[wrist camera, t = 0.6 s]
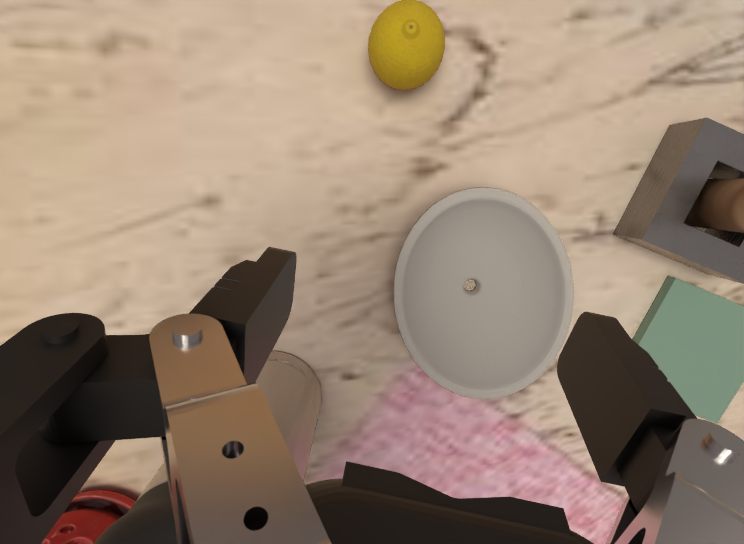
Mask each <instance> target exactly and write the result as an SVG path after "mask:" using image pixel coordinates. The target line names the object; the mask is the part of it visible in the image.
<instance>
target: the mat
mask: <svg viewBox="0 0 744 544" xmlns="http://www.w3.org/2000/svg"><path fill="white" fill-rule="evenodd" d="M633 341H634V342H636V343H637V344H638V345H639V346H641V347H642V348H643V349H644V350H645V351H647V352H648V353H649V354H650V356H651V357H652V359H653V360H654V361H655V363H656V364H657V365H658V367H659V370H661V371H662V372H663V373H664V375H665V376H666V377H667V381H668V382H670V383H671V384H672V385H673V387H674V388H675V389H676V391H677V392H678V393H679V395H680V396H681V397H682V399H683V400H684V401H685V403H686V404H687V405H688V407H689V408H690V409H691V411H692V412H693V413H694V415H697V416H700V417H702V418H705V419H707V420H710V421H712V422H715V423H718V421H719V420H720V418H721V417H722V415H723V413H724V412H725V410H726V409H727V407H728V405H729V404H730V402H731V401H732V399H733V397H734V396H735V394H736V393H737V391H738V389H739V388H740V386H741V385H742V383H743V382H744V306H742V305H739V304H737V303H734V302H732V301H730V300H727V299H725V298H722V297H720V296H718V295H715V294H713V293H710V292H708V291H706V290H703V289H701V288H698V287H696V286H694V285H691V284H689V283H686V282H684V281H682V280H679V279H677V278H674V277H670V276H668V277H667V279H666V280H665V282H664V284H663V286H662V288H661V289H660V291H659V293H658V295H657V296H656V298H655V300H654V302H653V304H652V305H651V307H650V309H649V311H648V313H647V314H646V316H645V318H644V320H643V322H642V323H641V325H640V327H639V329H638V331H637V332H636V334H635V336H634V338H633Z"/></svg>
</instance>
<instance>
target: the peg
mask: <svg viewBox="0 0 744 544" xmlns="http://www.w3.org/2000/svg"><path fill="white" fill-rule="evenodd" d="M684 224H686V225H688V226H694V227H702V228H710V229H718V230H725V231H733V232H741V233H744V179H707V181H706V183H705V184H704V186H703V188H702V190H701V192H700V193H699V195H698V197H697V199H696V201H695V203H694V204H693V206H692V208H691V210H690V212H689V213H688V215H687V217H686V219H685V221H684Z"/></svg>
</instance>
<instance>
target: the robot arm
mask: <svg viewBox="0 0 744 544" xmlns="http://www.w3.org/2000/svg"><path fill="white" fill-rule="evenodd" d="M295 270H296V253H295V252H291V251H287V250H282V249H277V248H272V247H268V248H267V249H266V251H265V252H264V253H263V254H262V255H261V257H260V258H259V259H258V260H257V262H254V261H249V260H245V261H243V262H241V263H239V264H237V265H235V266H232V267H231V268H230V269H229V270H228V271H227V272H226V273H225V274H224V275H223V277H222V279H220V280H219V281H218V282H217V283H216V284H215V286H214V288H212V289H211V290H210V291H209V292H208V293H207V294H206V295H205V296H204V297H203V298H202V300H201V301H200V302H199V303H198V304H197V305H196V306H195V307H194V308H193V309H192V311H191V312H190V313H189V314H181V315H176V316H173V317H169V318H167V319H165V320H163V321H161V322H160V323H158V324H157V325H156V326H155V327H154V328H153V329H152V331H151V332H150V334H145V335H106V333H105V327H104V324H103V322H102V321H101V320H100V319H98V318H97V317H95V316H92V315H88V314H82V313H65V314H58V315H54V316H50V317H46V318H43V319H41V320H38V321H36V322H34V323H32V324H30V325H28V326H27V327H25V328H24V329H22V330H21V331H20V332H18V333H17V334H16V335H14V336H13V337H12V338H10V339H9V340H8V341H6V342H5V343H4V344H2V345H1V346H0V544H41V543H42V542H43V540H44V539H45V538H46V536H47V535H48V533H49V532H50V531H51V529H52V528H53V526H54V525H55V524H56V522H57V521H58V519H59V518H60V517H61V515H62V514H63V512H64V511H65V510H66V508H67V507H68V506H69V504H70V503H71V501H72V500H73V499H74V497H75V496H76V494H77V493H78V492H79V490H80V489H81V487H82V486H83V485H84V483H85V482H86V481H87V479H88V478H89V476H90V475H91V474H92V472H93V471H94V469H95V468H96V467H97V465H98V464H99V462H100V461H101V460H102V458H103V457H104V456H105V454H106V453H107V451H108V450H109V449H110V447H111V446H112V444H113V443H114V442H115V440H122V439H136V438H150V437H160V441H161V447H162V452H163V458H164V464H163V465H162V466H161V468H160V469H159V471H158V472H157V474H156V475H155V476H154V478H153V479H152V480H151V482H150V483H149V484H148V486H147V487H146V488H145V490H144V491H143V492H142V494H141V495H140V497H139V498H138V499H137V501H136V502H135V503H134V505H133V506H132V507H131V509H130V510H129V511H128V513H127V514H125V515H124V516H122V517H121V518H119V519H118V520H116V521H115V522H114V523H113V524H112V525H110V526H109V527H108V528H107V529H106V530H105V531H104V532H103V533H102V534H101V535H100V537H99V538H98V539H97V540H96V541H95V542H94V544H593V543H592V542H590V541H589V540H587V539H586V538H584V537H582V536H580V535H579V534H577V533H575V532H573V531H571V530H570V529H569V525H568V522H567V519H566V516H565V512H564V509H563V508H559V507H554V506H550V505H545V504H541V503H536V502H531V501H527V500H522V499H517V498H513V497H492V498H467V499H457V498H453V497H450V496H448V495H446V494H443V493H441V492H439V491H437V490H435V489H433V488H431V487H428V486H426V485H424V484H422V483H420V482H418V481H416V480H413V479H411V478H409V477H407V476H405V475H403V474H400V473H397V472H393V471H388V470H383V469H379V468H374V467H369V466H365V465H360V464H356V463H351V462H346V466H345V470H344V475H343V479H331V480H325V481H319V482H315V483H312V484H309V485H305V484H304V482H303V481H304V477H305V472H306V468H307V463H308V459H309V455H310V450H311V446H312V441H313V437H314V432H315V429H316V424H317V420H318V415H319V411H320V406H321V400H322V396H321V388H320V384H319V381H318V379H317V377H316V375H315V374H314V372H313V371H312V370H311V369H310V367H309V366H308V365H307V364H305V363H304V362H303V361H301V360H300V359H299V358H297V357H295V356H292V355H290V354H287V353H283V352H277V351H272V349H273V347H274V346H275V344H276V342H277V340H278V338H279V336H280V334H281V332H282V330H283V328H284V326H285V324H286V322H287V320H288V318H289V315H290V311H291V307H292V301H293V291H294V281H295ZM557 374H558V378H559V381H560V383H561V385H562V388H563V390H564V393H565V395H566V398H567V400H568V403H569V405H570V407H571V410H572V412H573V415H574V417H575V420H576V422H577V424H578V427H579V429H580V432H581V434H582V437H583V439H584V441H585V444H586V446H587V449H588V451H589V454H590V456H591V458H592V461H593V463H594V466H595V468H596V471H597V473H598V476H599V478H600V480H601V482H606V483H611V484H615V485H620V486H625V488H626V490H627V493H628V495H629V496H628V497H627V498H626V500H625V501H624V502H623V504H622V506H621V509H620V511H619V513H618V516H617V518H616V520H615V523H614V525H613V527H612V530H611V532H610V534H609V537H608V539H607V541H606V544H744V441H743V440H742V439H740V438H739V437H738V436H736V435H735V434H733V433H732V432H730V431H728V430H727V429H725V428H723V427H721V426H719V425H717V424H714V423H712V422H709V421H706V420H701V419H697V417H696V416H695V415H694V413H693V412H692V411H691V409H690V408H689V407H688V405H687V404H686V403H685V401H684V400H683V399H682V397H681V396H680V395H679V393H678V392H677V391H676V389H675V388H674V387H673V385H672V384H671V383H670V382H668V381H667V377H666V376H665V375H664V373H663V372H662V371H661V370H659V367H658V365H657V364H656V363H655V361H654V360H653V359H652V357H651V356H650V354H649V353H648V352H647V351H645V350H644V349H643V348H642V347H641V346H639V345H638V344H637V343H636V342H634V341H633V340H632V339H631V338H630V337H629V335H628V334H627V333H626V331H625V330H624V328H623V327H622V326H621V324H620V323H619V322H618V320H617V319H616V318H614V317H610V316H605V315H600V314H595V313H590V312H584V313H582V314H581V315H580V316H579V318H578V320H577V322H576V324H575V326H574V328H573V330H572V332H571V334H570V336H569V338H568V340H567V342H566V344H565V346H564V348H563V350H562V352H561V354H560V356H559V359H558V364H557Z"/></svg>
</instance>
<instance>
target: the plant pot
mask: <svg viewBox="0 0 744 544" xmlns="http://www.w3.org/2000/svg"><path fill="white" fill-rule="evenodd" d="M135 502H136V501H134V500H133V499H131V498H129V497H127V496H125V495H122V494H119V493H116V492H112V491H104V490H95V491H87V492H83V493H80V494H77V495H76V496H75V497H74V499H73V500H72V501H71V503H70V504H69V506H68V507H67V508H66V510H65V511H64V512H63V514H62V515H61V517H60V518H59V519H58V521H57V522H56V524H55V525H54V526H53V528H52V529H51V531H50V532H49V533H48V535H47V536H46V538H45V539H44V540H43V542H42V543H41V544H94V542H95V541H96V540H97V539H98V538H99V537H100V535H101V534H102V533H103V532H104V531H105V530H106V529H107V528H108V527H109V526H110V525H112V524H113V523H114V522H115V521H116V520H118V519H119V518H121V517H122V516H124V515H125V514H127V513H128V511H129V510H130V509H131V507H132V506H133V505H134V503H135Z"/></svg>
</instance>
